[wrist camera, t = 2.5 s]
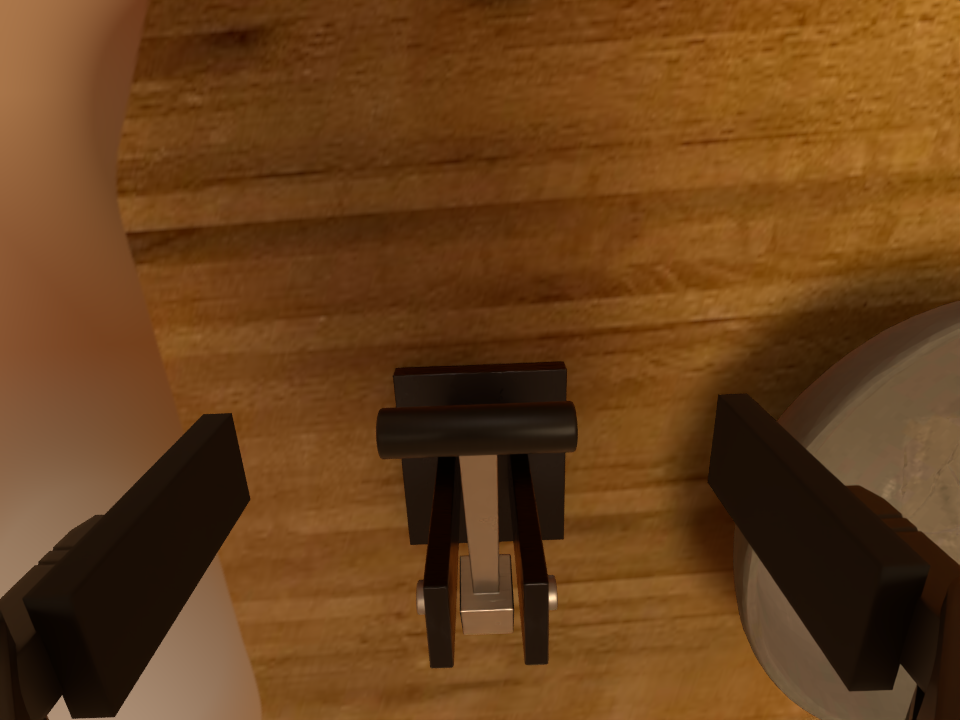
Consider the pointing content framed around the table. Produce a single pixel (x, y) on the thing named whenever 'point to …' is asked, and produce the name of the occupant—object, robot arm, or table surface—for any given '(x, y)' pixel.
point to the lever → (479, 482)
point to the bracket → (521, 499)
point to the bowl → (878, 468)
